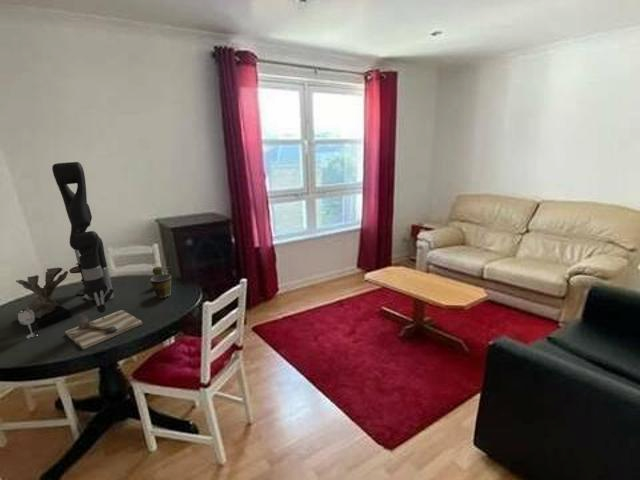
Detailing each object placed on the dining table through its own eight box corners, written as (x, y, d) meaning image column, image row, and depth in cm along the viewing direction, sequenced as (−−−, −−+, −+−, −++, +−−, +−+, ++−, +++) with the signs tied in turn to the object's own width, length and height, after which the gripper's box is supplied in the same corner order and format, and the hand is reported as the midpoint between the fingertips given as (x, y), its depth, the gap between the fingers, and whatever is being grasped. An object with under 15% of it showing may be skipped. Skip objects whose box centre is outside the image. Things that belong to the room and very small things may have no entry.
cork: (162, 288, 202) (158, 269, 199) (152, 287, 204) (148, 269, 201) (168, 283, 208) (165, 265, 205) (159, 283, 209) (155, 265, 206)
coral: (17, 317, 177) (4, 276, 171) (64, 300, 192) (54, 262, 186) (36, 330, 163) (23, 286, 157) (85, 311, 178) (75, 271, 172)
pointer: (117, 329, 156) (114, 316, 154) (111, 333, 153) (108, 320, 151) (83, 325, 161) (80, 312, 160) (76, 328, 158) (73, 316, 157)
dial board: (65, 334, 158) (64, 331, 157) (122, 312, 175) (121, 309, 175) (83, 349, 145) (82, 345, 145) (142, 324, 163) (142, 320, 163)
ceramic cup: (178, 293, 194) (175, 276, 191) (161, 300, 186) (158, 282, 183) (163, 289, 201) (160, 272, 198) (146, 296, 193) (143, 278, 190)
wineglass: (30, 332, 161) (22, 308, 157) (43, 331, 161) (36, 307, 158) (20, 339, 155) (12, 314, 152) (35, 338, 156) (27, 313, 152)
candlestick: (93, 286, 210) (78, 228, 200) (101, 290, 203) (87, 230, 193) (72, 293, 201) (56, 232, 191) (80, 297, 195) (64, 235, 185)
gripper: (107, 270, 166) (115, 304, 171) (73, 279, 157) (83, 315, 162) (112, 273, 161) (120, 309, 166) (78, 283, 152) (88, 320, 157)
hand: (102, 311), depth 164 cm, fingers closed
